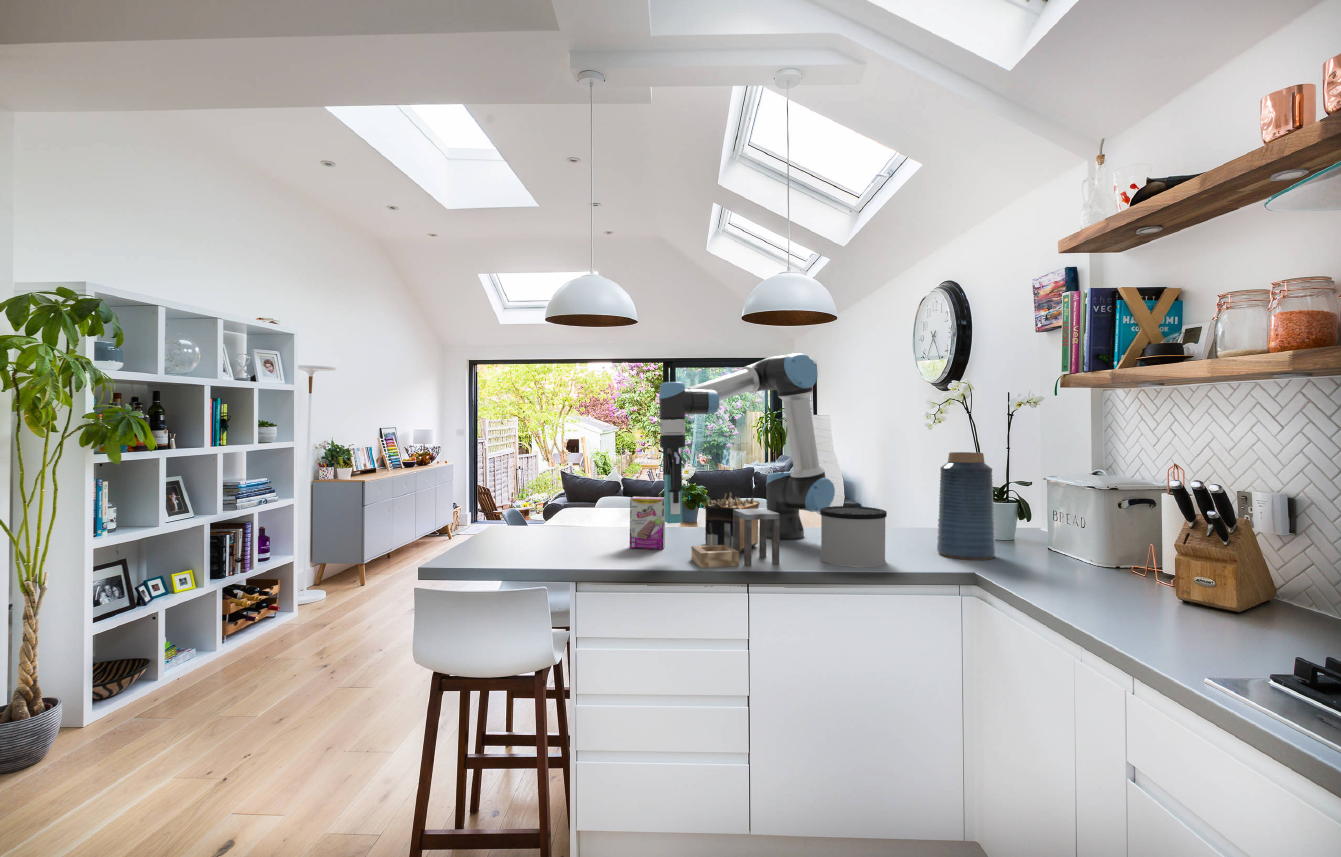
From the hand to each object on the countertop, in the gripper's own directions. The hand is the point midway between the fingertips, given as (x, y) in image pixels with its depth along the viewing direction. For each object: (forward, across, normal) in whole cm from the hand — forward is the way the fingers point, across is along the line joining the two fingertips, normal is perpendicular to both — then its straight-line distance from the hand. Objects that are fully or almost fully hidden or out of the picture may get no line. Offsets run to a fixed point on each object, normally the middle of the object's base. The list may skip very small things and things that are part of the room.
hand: (673, 512), depth 189 cm
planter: (+15, -11, +22) cm, 29 cm away
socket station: (+14, +7, +16) cm, 23 cm away
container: (+15, +12, +51) cm, 55 cm away
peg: (+3, 0, 0) cm, 3 cm away
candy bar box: (+14, -19, -5) cm, 24 cm away
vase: (+15, +12, +89) cm, 92 cm away
